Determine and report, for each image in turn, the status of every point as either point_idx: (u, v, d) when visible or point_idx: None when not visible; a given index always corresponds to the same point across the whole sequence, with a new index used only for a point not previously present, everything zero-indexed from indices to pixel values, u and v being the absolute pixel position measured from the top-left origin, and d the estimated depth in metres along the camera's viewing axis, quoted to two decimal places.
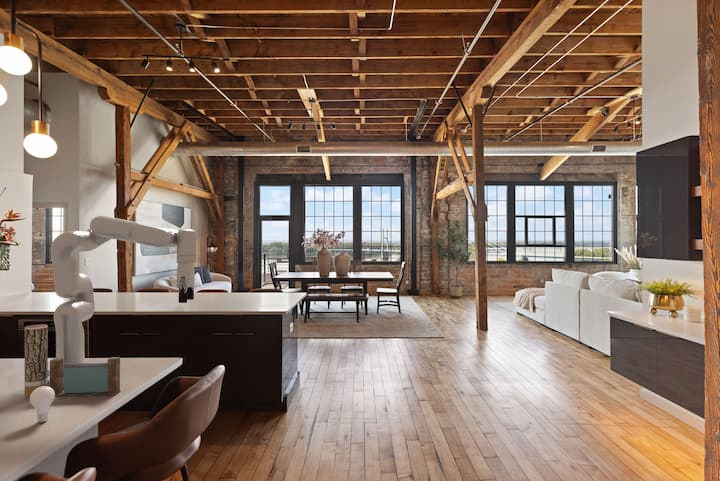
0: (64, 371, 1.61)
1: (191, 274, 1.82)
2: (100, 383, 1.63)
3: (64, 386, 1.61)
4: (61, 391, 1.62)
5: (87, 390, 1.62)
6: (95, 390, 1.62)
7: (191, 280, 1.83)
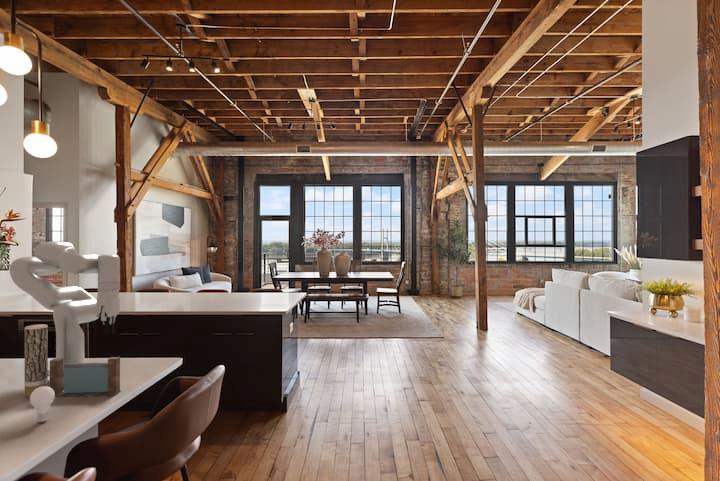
0: (64, 371, 1.61)
1: (113, 302, 1.71)
2: (100, 383, 1.63)
3: (64, 386, 1.61)
4: (61, 391, 1.62)
5: (87, 390, 1.62)
6: (95, 390, 1.62)
7: (114, 309, 1.72)
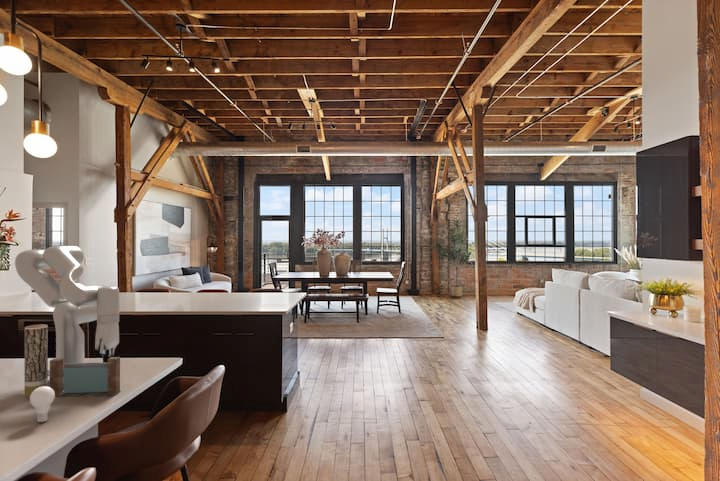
0: (64, 371, 1.61)
1: (112, 335, 1.71)
2: (100, 383, 1.63)
3: (64, 386, 1.61)
4: (61, 391, 1.62)
5: (87, 390, 1.62)
6: (95, 390, 1.62)
7: (113, 341, 1.71)
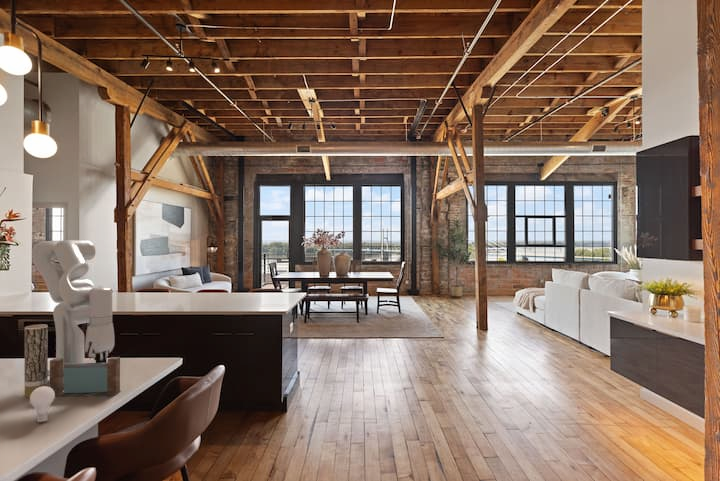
0: (64, 371, 1.61)
1: (103, 338, 1.64)
2: (100, 383, 1.62)
3: (64, 386, 1.61)
4: (61, 391, 1.62)
5: (87, 390, 1.62)
6: (95, 390, 1.62)
7: (104, 344, 1.65)
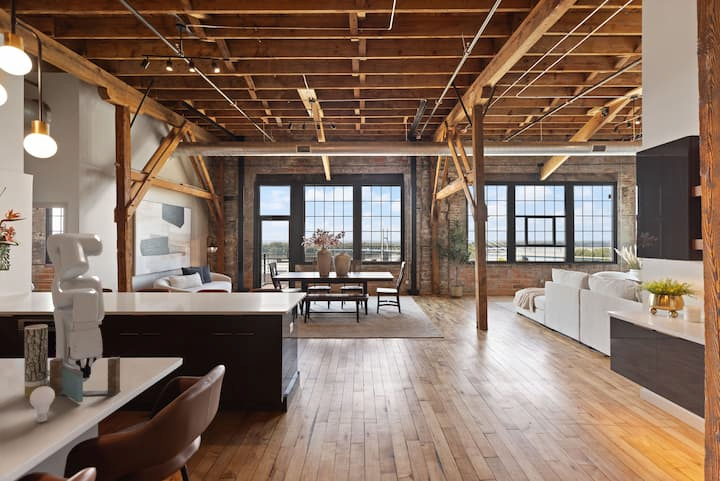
0: (62, 371, 1.61)
1: (83, 344, 1.55)
2: (74, 392, 1.53)
3: (62, 386, 1.61)
4: (61, 391, 1.62)
5: (70, 396, 1.56)
6: (73, 398, 1.54)
7: (84, 351, 1.55)
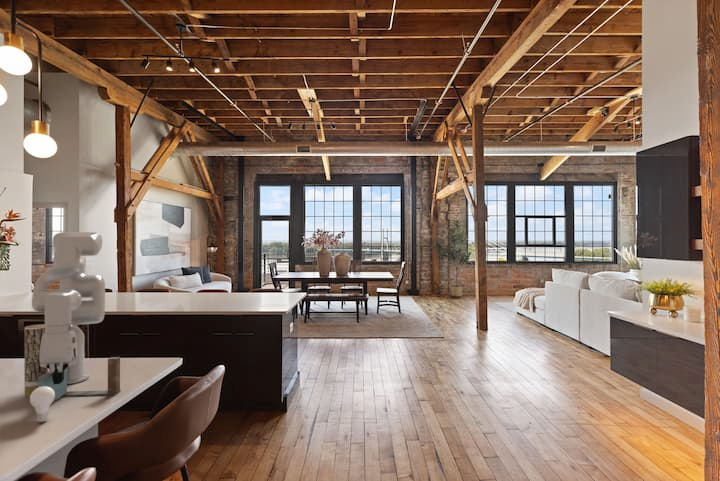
0: None
1: (49, 348, 1.49)
2: None
3: None
4: None
5: None
6: None
7: (51, 356, 1.49)
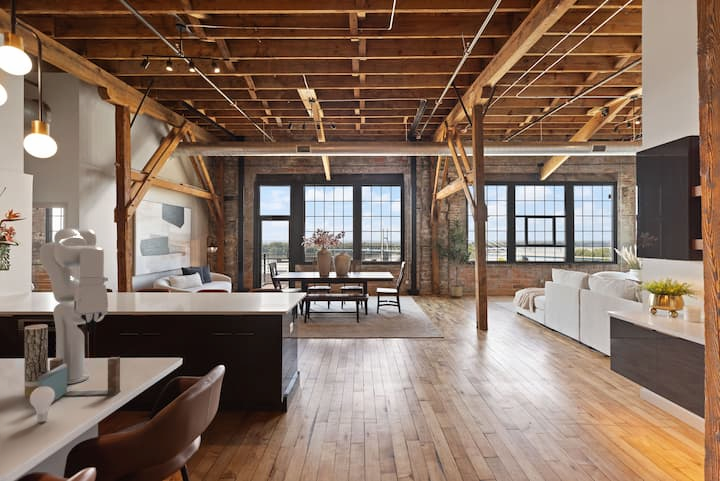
0: None
1: (88, 299, 1.58)
2: None
3: None
4: None
5: None
6: None
7: (89, 306, 1.59)
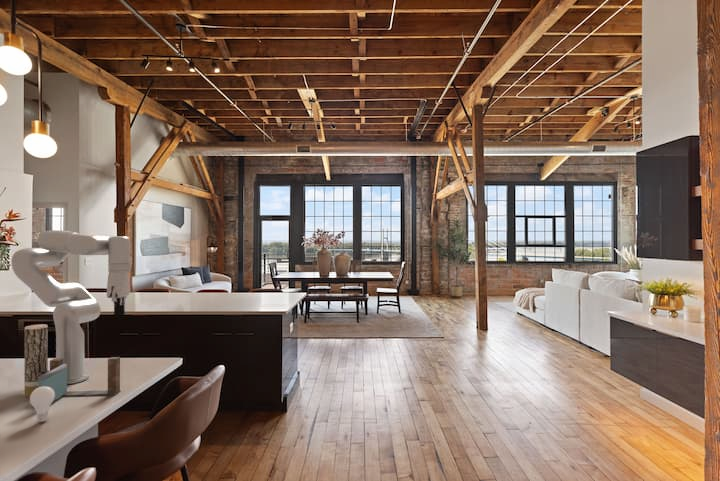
0: None
1: (124, 283, 1.72)
2: None
3: None
4: None
5: None
6: None
7: (124, 290, 1.73)
